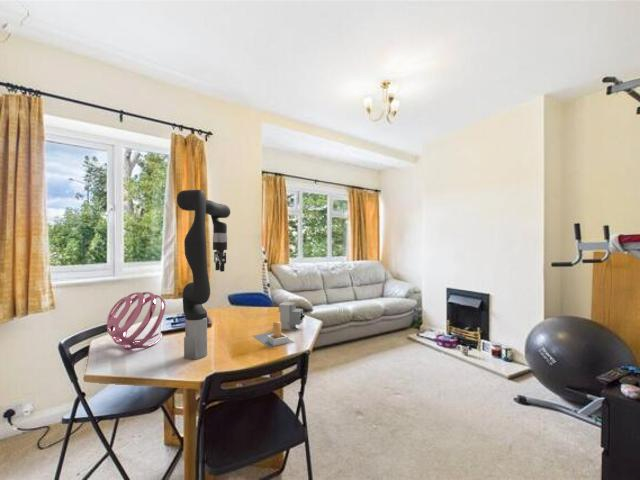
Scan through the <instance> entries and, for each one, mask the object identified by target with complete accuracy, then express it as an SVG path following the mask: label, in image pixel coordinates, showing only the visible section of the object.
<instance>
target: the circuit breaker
mask: <svg viewBox="0 0 640 480" xmlns="http://www.w3.org/2000/svg"><path fill="white" fill-rule="evenodd" d="M303 310H304V309H303V308H297V303H296V302H294V301H293V302H292V301H288V302H287V301H285V302H284V301H283V302H281V303H279V304H278V313H279V318H280V319H279V321H280V322H281V330H293V329H294V328H296V327H297V326H300V325H301V324H302V323H303V322H304V318H305V316H306V315H305V314H304V311H303Z"/></svg>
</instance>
